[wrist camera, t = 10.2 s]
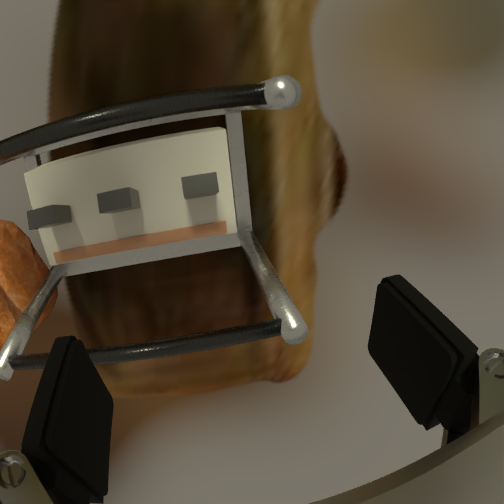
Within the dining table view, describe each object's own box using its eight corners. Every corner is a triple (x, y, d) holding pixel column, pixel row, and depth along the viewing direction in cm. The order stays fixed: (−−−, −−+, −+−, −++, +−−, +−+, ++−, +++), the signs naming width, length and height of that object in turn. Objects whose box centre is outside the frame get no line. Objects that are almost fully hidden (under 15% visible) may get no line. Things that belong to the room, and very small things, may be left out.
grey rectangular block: (45, 211, 26) (26, 211, 22) (69, 205, 27) (52, 204, 23) (48, 227, 26) (29, 229, 22) (72, 222, 27) (55, 223, 23)
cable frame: (24, 137, 28) (-88, 174, 10) (237, 91, 31) (299, 69, 14) (59, 273, 35) (1, 383, 18) (252, 239, 39) (308, 344, 22)
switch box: (46, 162, 30) (22, 173, 24) (218, 126, 32) (226, 129, 27) (66, 243, 34) (49, 266, 28) (228, 213, 37) (237, 233, 31)
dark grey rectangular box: (109, 196, 27) (96, 193, 23) (138, 190, 28) (129, 186, 24) (112, 213, 27) (99, 213, 23) (140, 207, 28) (131, 206, 24)
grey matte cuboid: (183, 182, 28) (180, 177, 24) (213, 177, 29) (216, 171, 25) (185, 199, 28) (183, 197, 24) (216, 194, 29) (219, 191, 25)
